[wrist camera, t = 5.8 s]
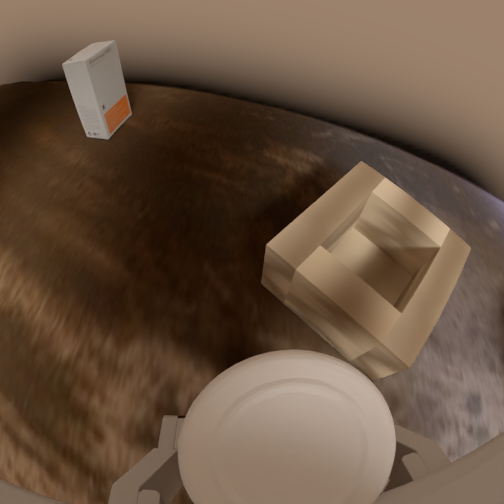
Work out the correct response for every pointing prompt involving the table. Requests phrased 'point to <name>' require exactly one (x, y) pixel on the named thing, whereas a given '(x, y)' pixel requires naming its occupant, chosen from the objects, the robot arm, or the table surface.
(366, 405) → the sprinkles bottle
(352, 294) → the socket block
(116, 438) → the table surface
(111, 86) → the skincare box
